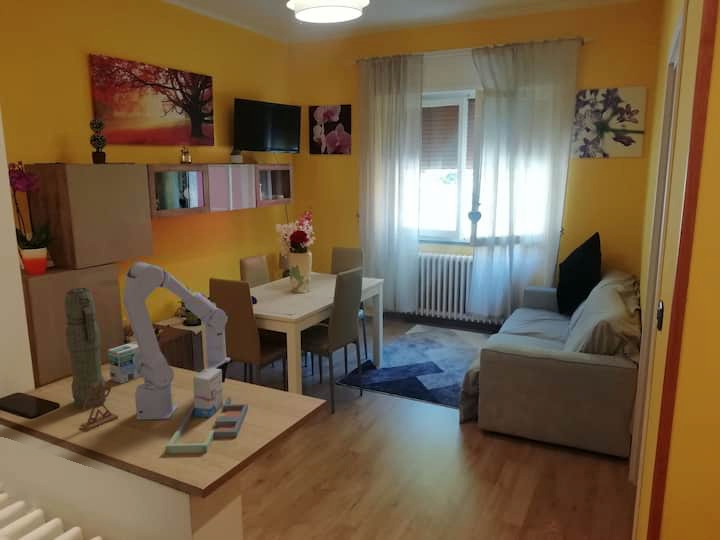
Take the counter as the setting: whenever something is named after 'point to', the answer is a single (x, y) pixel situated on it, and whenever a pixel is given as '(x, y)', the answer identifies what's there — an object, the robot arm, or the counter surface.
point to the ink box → (208, 392)
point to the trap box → (226, 428)
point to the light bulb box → (124, 362)
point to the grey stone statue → (83, 346)
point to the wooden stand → (106, 416)
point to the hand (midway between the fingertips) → (218, 387)
